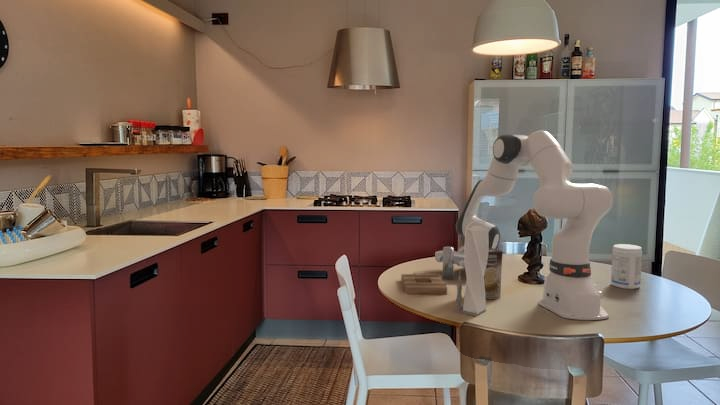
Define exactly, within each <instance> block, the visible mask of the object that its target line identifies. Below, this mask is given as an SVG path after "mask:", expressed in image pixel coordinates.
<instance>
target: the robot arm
mask: <svg viewBox="0 0 720 405" xmlns="http://www.w3.org/2000/svg"><path fill="white" fill-rule="evenodd" d="M492 154H493V157H492V159H491V161H490V164H489V166H488V170H487V172H486V176H484V178H483V179H480V180H478V181H477V182H476V184H475V185H474V186H473V189H472V191H471V193H470V195H469V197H468V199H467V202H466V204H465V206H464V208H463V211H462V212H461V213H460V215H459V216H458V218H457V221H456V223H455V230H456V232H457V235H458V236H460V237H463V238H465V232H466V227H467V226H468V224H469V223H471V222H473V221H476V220H483V219H481V218H479V217H477V216H478V215H476V213H477V211H478V209H479V207H480V204H481V202H482V200H483V199H484V198H485V197H502V196H505V195H508V194H509V193H510V192H511V191H512V190H513V189H514V187H515V184H516V181H517V178H518V173H519V169H520V168H521V167H533V169H534V171H535V172H536V174H537V176H538V180H539V183H540V184H539V185H540V186H539V187H538V188H537V189H536V191H534V195H533V198H532V204H533V208H534V210H535V212H536V214H537V215H538V216H540V217H543V218H549V219H553V220H554V219H555V220H556V219H557V220H558V219H559V220H560V219H561V220H562V219H567V220H566V222H565V223H564V226H563V227H562V228H560V229H559V230H557V231H556V232H555V233H554V234H553V236H552V240H551V258H550V259H549V263H548V264H549V266H548V268H549V274H547V276H546V277H545V278H544V283H543V290H542V291H543V292H542V298H541V299H539V300H538V302H537V304H538V305H540V306H542V307H544V308H545V309H547V310H549V311H551V312H552V313H553V314H556V315H557V316H559V317H561V318H563V319H570V320H580V321H584V320H585V321H593V320H595V321H596V320H598V321H599V320H605V319H608V318H609V314H608V312H607V311H606V310H605V309H604V308H603V306H601V300H602V299H603V291H599V290H598V289H597V285H596V284H595V283H594V281H593V279H592V277H591V276H592V271H591V270H592V267H591V263H590V261H589V260H590V247H591V240H592V236H593V233H594V231H595V229H596V227H597V225H598V224H599V222H600V221H601V220H602V218H603V217H604V216H606V214H608V213H609V212H610V211H611V209H612V207H613V204H614V203H613V202H614V198H613V194H612V192H611V190H610V189H609V187H607V186H605V185H601V184H597V183H594V182H593V183H592V182H589V183H588V182H587V183H586V182H583V183H582V182H581V183H576V182H575V183H574V182H570V180H569V179H570V178H571V176H572V173H573V172H574V171H573V170H574V169H573V168H574V167H573V166H574V165H573V163H572V162H571V160H570V158H569V157H568V155H567V154H566V152H565V151H564V149H563V147H562V146H561V144H560V142H558V140H557V139H556V138H555V137H554V136H553V135H552V134H551V133H550V132H549V131H546V130H542V129H541V130H537V131H534V132H531V133H530V134H529V135H525V134H523V135H522V134H510V133H509V134H508V133H507V134H503V135H500V136H499V135H498V137H496V139H495V140H494V143H493V146H492ZM483 221H485V220H483ZM482 224H483V222H474V223H472V224H470V226H469V227H468V228H472V226H481V227H482ZM483 228H487V229H488V237H489V248H493V249H497V248H498V247H499V244H500V240H501V233H500V229H499V227H498V226H497V225H494V224H493V223H490V222H488V221H485V223H484V226H483ZM434 260H435V261H436V262H437V263H443V249H442V250H437V251H435V253H434ZM453 265H457V266H458V267H463V268H465V262H464V245H463V246H460V247H459V248H458V249H457V251H456V250H454V261H453Z"/></svg>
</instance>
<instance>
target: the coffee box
mask: <svg viewBox="0 0 720 405" xmlns="http://www.w3.org/2000/svg"><path fill="white" fill-rule="evenodd" d="M502 263H503V251H501V250H499V249H497V248H496V249H493V248H489V250H488V260H487V265H486V270H485V273H484V277H483V278H484V287H485V299H486V300H494V299H495V300H496V299H501V292H502V291H501V288H502V268H503V266H502V265H503V264H502Z"/></svg>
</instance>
